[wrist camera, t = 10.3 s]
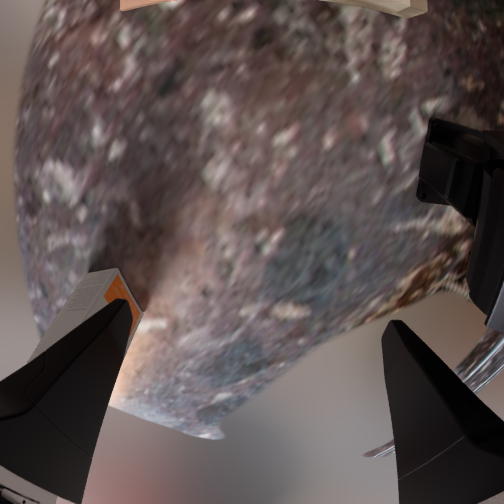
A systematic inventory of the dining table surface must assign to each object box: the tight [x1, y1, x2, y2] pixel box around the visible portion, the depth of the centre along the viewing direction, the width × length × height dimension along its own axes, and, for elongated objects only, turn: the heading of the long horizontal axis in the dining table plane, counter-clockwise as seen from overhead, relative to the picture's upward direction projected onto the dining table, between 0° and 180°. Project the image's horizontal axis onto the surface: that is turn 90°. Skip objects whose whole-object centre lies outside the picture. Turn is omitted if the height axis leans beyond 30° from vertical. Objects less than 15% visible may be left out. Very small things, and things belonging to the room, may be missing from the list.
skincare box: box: [27, 268, 143, 364], centre depth 22 cm, size 6×4×12 cm
